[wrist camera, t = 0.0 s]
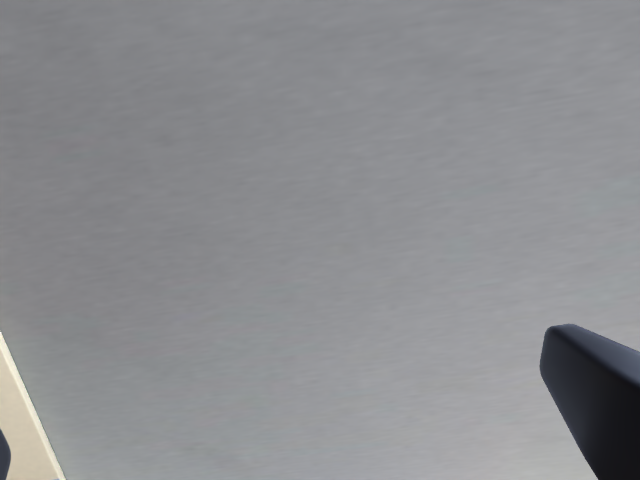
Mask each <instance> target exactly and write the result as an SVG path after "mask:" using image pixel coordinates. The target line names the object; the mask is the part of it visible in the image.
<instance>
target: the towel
mask: <svg viewBox="0 0 640 480" xmlns="http://www.w3.org/2000/svg"><path fill="white" fill-rule="evenodd" d="M0 428H1V430H2V432H3V434H4V436H5V438H6V440H7V442H8V444H9V447H10V451H11V462H10V467H9V470H8V474H7V478H6V480H66V479H65V477H64V474H63V472H62V470H61V467H60V465H59V463H58V461H57V458H56V456H55V454H54V452H53V449H52V447H51V445H50V442H49V440H48V438H47V436H46V433H45V431H44V429H43V427H42V424H41V422H40V420H39V418H38V415H37V413H36V411H35V408H34V406H33V404H32V402H31V399H30V397H29V395H28V393H27V390H26V388H25V386H24V383H23V381H22V379H21V377H20V374H19V372H18V370H17V368H16V365H15V363H14V361H13V358H12V356H11V354H10V352H9V349H8V347H7V345H6V343H5V340H4V338H3V336H2V334H1V331H0Z"/></svg>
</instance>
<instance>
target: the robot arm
mask: <svg viewBox="0 0 640 480" xmlns="http://www.w3.org/2000/svg"><path fill="white" fill-rule="evenodd" d="M540 372H541V376H542V378H543V380H544V382H545V384H546V386H547V388H548V390H549V392H550V394H551V396H552V397H553V399H554V401H555V403H556V405H557V407H558V409H559V411H560V413H561V415H562V416H563V418H564V420H565V422H566V424H567V426H568V428H569V430H570V432H571V433H572V435H573V437H574V439H575V441H576V443H577V445H578V447H579V448H580V450H581V452H582V454H583V456H584V457H585V459H586V461H587V462H588V464H589V466H590V467H591V469H592V470H593V472H594V473H595V475H596V477H597V478H598V480H640V352H638V351H636V350H634V349H631V348H629V347H626V346H624V345H622V344H619V343H617V342H615V341H612V340H610V339H608V338H605V337H603V336H601V335H598V334H596V333H593V332H591V331H589V330H586V329H584V328H582V327H579V326H577V325H574V324H564V325H557V326H552V327H550V328H548V329H547V331H546V332H545V336H544V342H543V348H542V353H541V359H540ZM10 462H11V451H10V447H9V444H8V442H7V440H6V438H5V436H4V434H3V432H2V430H1V428H0V480H6V478H7V474H8V470H9V467H10Z"/></svg>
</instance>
